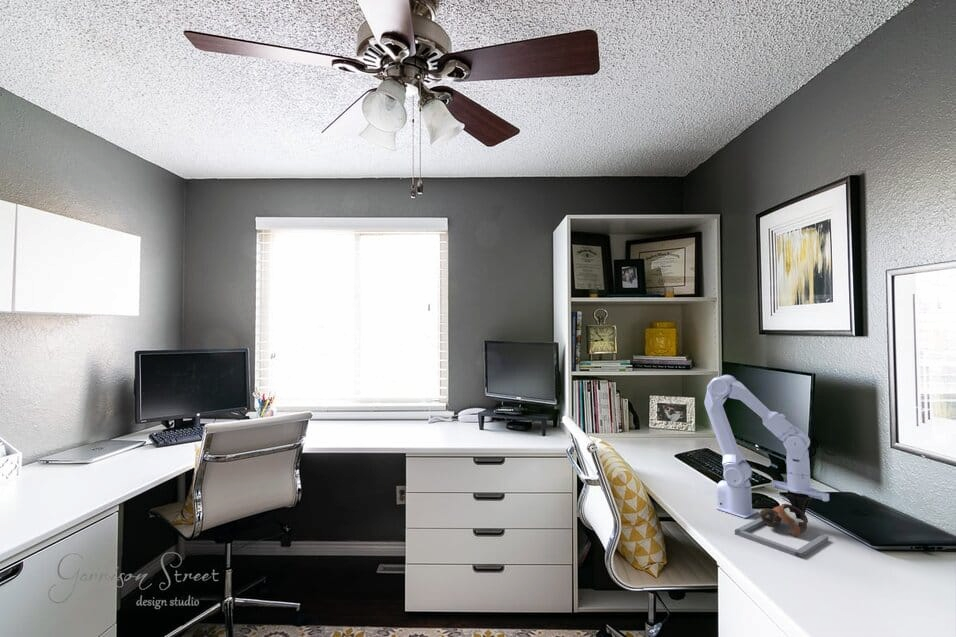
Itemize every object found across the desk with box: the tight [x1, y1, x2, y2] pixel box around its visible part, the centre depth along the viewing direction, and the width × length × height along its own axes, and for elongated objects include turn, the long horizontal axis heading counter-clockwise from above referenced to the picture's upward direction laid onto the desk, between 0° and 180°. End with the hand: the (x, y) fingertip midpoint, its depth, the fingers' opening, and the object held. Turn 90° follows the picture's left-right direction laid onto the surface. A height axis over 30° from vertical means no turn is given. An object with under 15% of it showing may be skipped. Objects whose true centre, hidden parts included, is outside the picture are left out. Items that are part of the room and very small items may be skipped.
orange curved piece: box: [759, 503, 809, 537], centre depth 133 cm, size 12×10×8 cm
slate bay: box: [734, 516, 829, 559], centre depth 129 cm, size 17×16×1 cm
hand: (800, 518), depth 136 cm, fingers closed
